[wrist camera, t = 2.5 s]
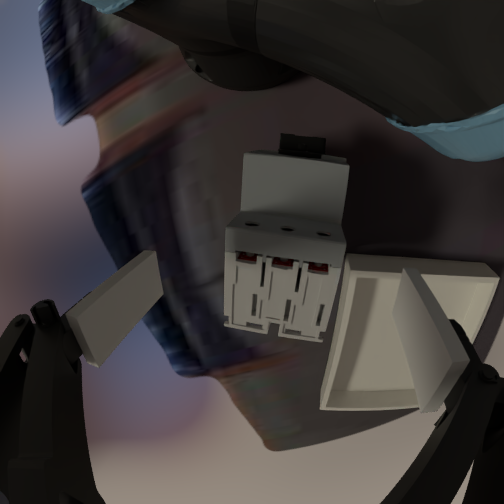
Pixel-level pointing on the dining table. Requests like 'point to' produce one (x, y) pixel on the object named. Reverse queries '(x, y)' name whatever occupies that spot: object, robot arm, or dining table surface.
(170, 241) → the dining table surface
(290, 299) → the circuit breaker
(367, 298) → the parts tray
